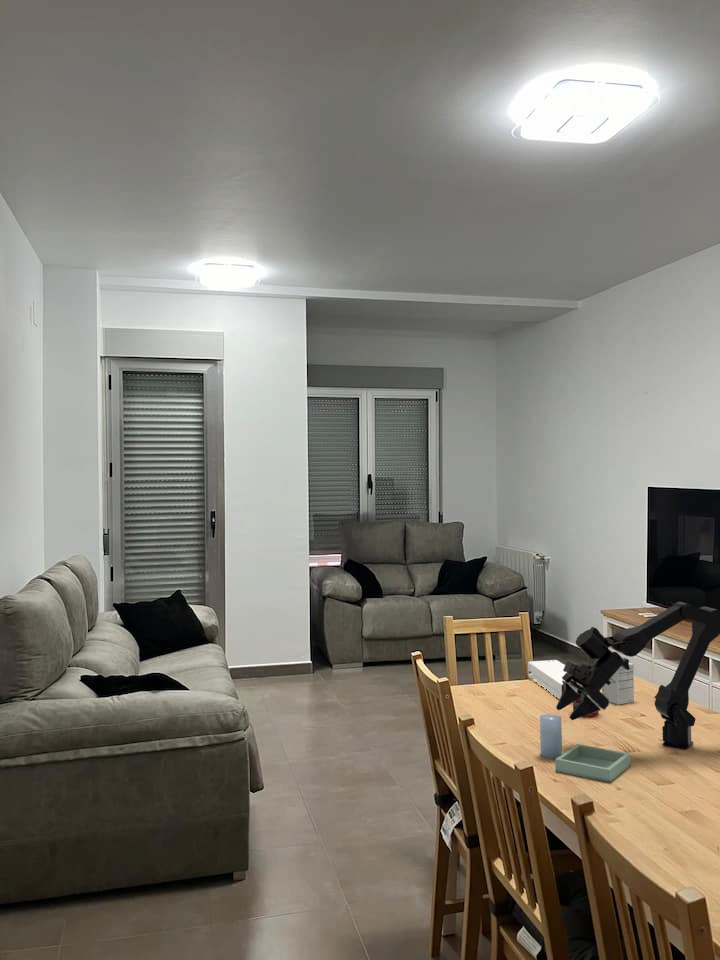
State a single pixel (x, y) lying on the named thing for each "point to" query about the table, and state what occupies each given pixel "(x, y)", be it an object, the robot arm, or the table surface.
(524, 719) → the table surface
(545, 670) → the laminator
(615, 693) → the supplement box
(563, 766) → the tray
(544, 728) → the tall pale blue cylinder
